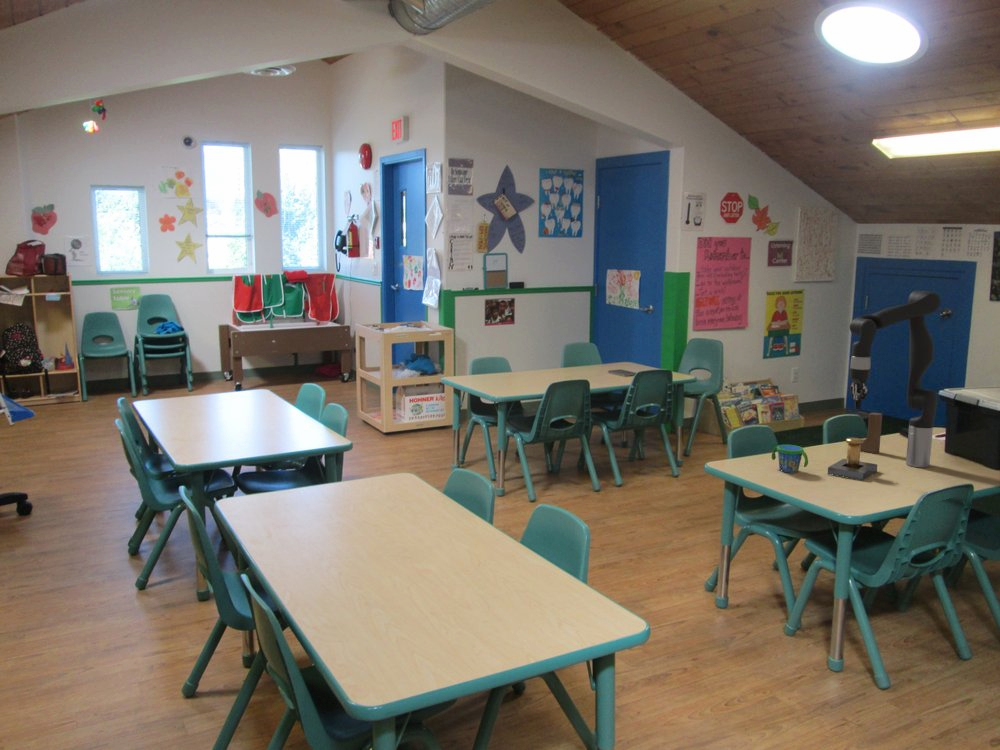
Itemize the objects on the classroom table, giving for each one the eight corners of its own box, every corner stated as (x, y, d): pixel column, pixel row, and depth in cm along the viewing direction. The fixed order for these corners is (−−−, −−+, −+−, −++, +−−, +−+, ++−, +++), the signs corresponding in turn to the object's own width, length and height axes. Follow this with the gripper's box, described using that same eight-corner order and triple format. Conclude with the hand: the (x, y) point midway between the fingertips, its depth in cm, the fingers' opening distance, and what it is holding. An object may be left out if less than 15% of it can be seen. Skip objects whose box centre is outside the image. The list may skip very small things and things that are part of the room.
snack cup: (812, 473, 351) (814, 449, 350) (796, 477, 345) (798, 453, 344) (781, 464, 364) (782, 442, 362) (765, 468, 358) (766, 445, 356)
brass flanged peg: (846, 469, 357) (849, 436, 355) (863, 472, 353) (865, 439, 350) (841, 472, 352) (843, 439, 350) (857, 475, 348) (860, 442, 346)
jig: (842, 465, 364) (843, 458, 363) (876, 471, 355) (877, 464, 354) (827, 474, 350) (828, 467, 350) (862, 480, 341) (863, 473, 341)
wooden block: (855, 450, 389) (858, 412, 386) (859, 448, 392) (862, 410, 389) (876, 453, 383) (879, 415, 380) (879, 452, 386) (882, 413, 383)
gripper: (877, 369, 339) (874, 412, 342) (861, 364, 352) (858, 405, 355) (859, 370, 339) (856, 412, 342) (843, 364, 352) (841, 405, 355)
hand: (857, 408), depth 348 cm, fingers closed
